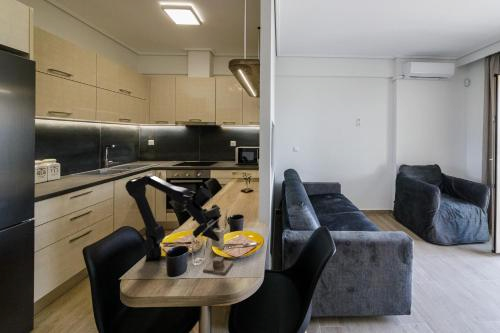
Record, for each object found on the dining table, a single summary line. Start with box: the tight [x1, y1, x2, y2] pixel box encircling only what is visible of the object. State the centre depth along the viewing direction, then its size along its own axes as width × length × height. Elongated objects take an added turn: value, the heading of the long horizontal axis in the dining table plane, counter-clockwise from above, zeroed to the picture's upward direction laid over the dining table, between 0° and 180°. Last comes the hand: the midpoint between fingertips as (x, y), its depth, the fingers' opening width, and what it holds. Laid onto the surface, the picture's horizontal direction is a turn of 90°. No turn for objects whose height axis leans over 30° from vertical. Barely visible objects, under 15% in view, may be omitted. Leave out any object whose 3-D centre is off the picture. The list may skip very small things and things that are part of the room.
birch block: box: [211, 228, 225, 248], centre depth 118 cm, size 4×4×7 cm
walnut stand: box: [202, 256, 233, 276], centre depth 120 cm, size 10×10×4 cm
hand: (220, 238), depth 118 cm, fingers closed on birch block, 4 cm apart
